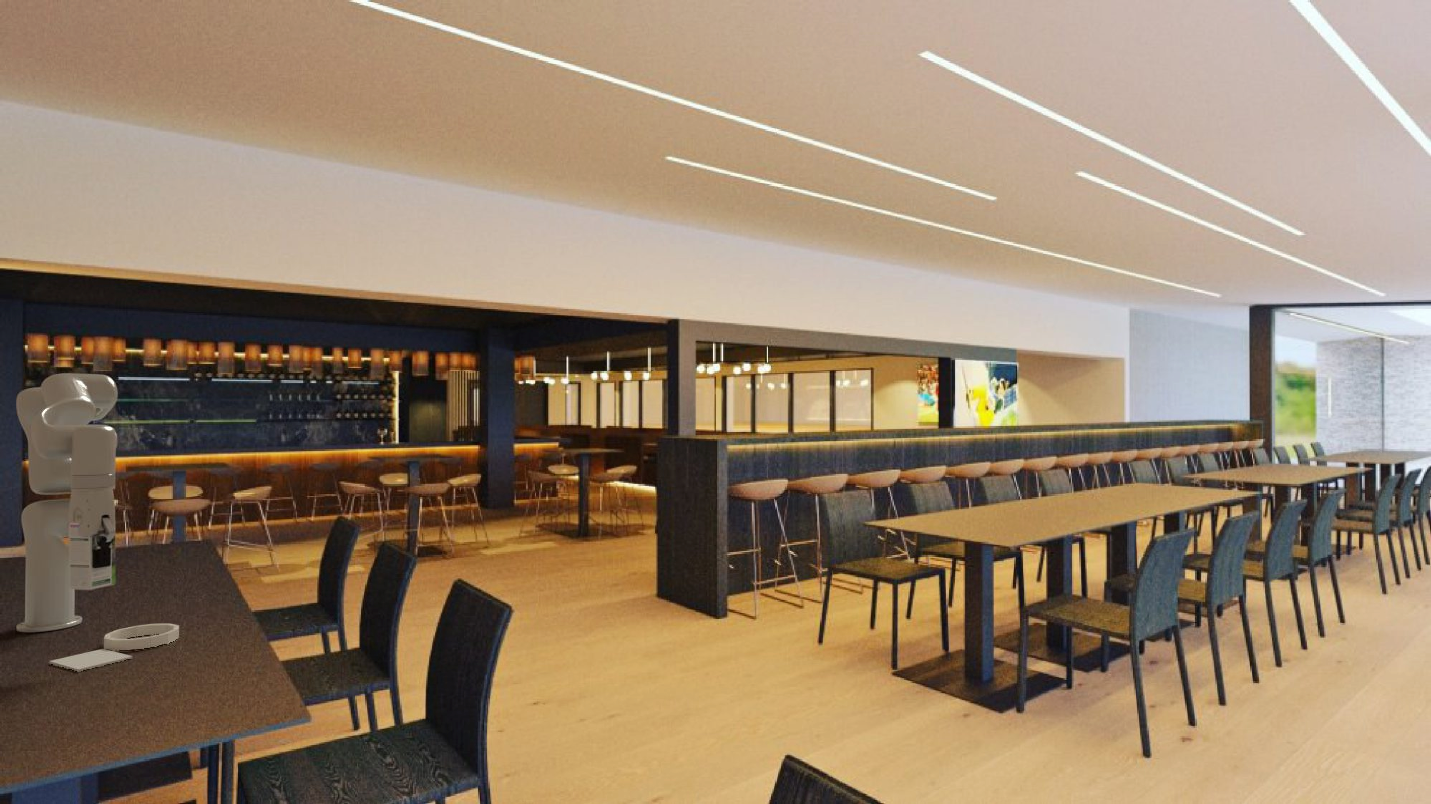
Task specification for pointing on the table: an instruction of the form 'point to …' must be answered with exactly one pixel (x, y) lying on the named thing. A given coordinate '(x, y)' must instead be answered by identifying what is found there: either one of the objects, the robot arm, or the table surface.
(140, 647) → the ring dish
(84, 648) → the table surface
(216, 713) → the table surface
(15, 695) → the table surface
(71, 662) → the mat
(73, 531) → the syrup box
